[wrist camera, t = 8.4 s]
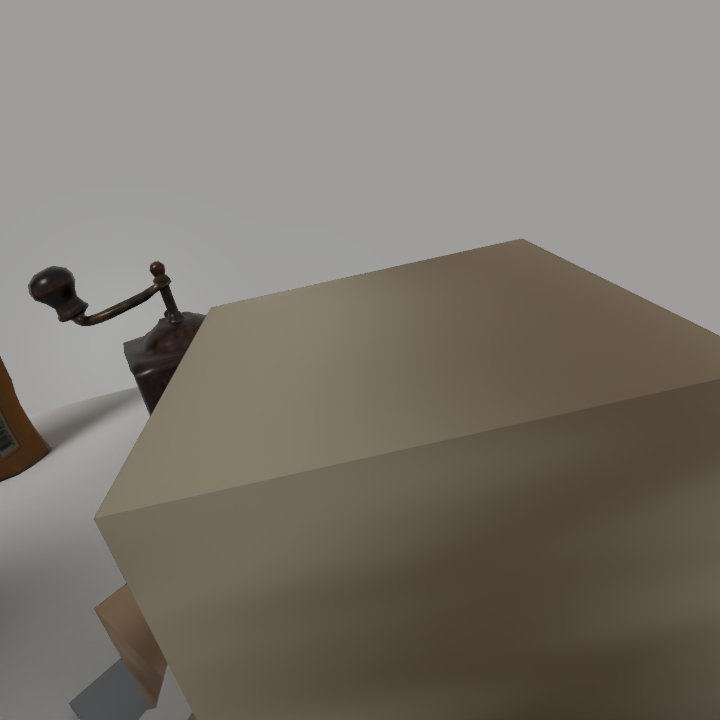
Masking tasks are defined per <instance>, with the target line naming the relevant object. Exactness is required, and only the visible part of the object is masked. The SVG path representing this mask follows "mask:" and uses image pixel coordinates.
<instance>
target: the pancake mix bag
mask: <svg viewBox="0 0 720 720" xmlns="http://www.w3.org/2000/svg"><path fill="white" fill-rule="evenodd" d="M50 449H51V447H50V446H49V445H48V443H47V442H46V441H45V440H44V439H43V438H42V437H41V436H40V434H39V433H38V432H37V430H36V429H35V428H34V426H33V425H32V423H31V422H30V420H29V418H28V417H27V416H26V414H25V412H24V410H23V409H22V407H21V405H20V403H19V400H18V398H17V396H16V394H15V391H14V387H13V383H12V380H11V378H10V376H9V374H8V372H7V370H6V368H5V366H4V363H3V361H2V359H1V357H0V481H1V480H4V479H6V478H9V477H12V476H15V475H17V474H19V473H21V472H22V471H24V470H26V469H27V468H29V467H30V466H32V465H33V464H34V463H36V462H37V461H38V460H39V459H41V458H42V457H43V456H44V455H45V454H46V453H47V452H48V451H49V450H50Z"/></svg>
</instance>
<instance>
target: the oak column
mask: <svg viewBox="0 0 720 720" xmlns="http://www.w3.org/2000/svg"><path fill="white" fill-rule="evenodd" d="M94 520H95V522H96V524H97V526H98V528H99V530H100V532H101V534H102V536H103V538H104V540H105V541H106V543H107V545H108V547H109V549H110V551H111V553H112V555H113V557H114V559H115V561H116V563H117V565H118V567H119V569H120V571H121V573H122V575H123V577H124V579H125V581H126V583H127V585H128V587H129V588H130V590H131V592H132V594H133V596H134V598H135V600H136V602H137V604H138V606H139V608H140V610H141V612H142V614H143V616H144V618H145V620H146V622H147V624H148V626H149V628H150V630H151V632H152V634H153V635H154V637H155V639H156V641H157V643H158V645H159V647H160V649H161V651H162V653H163V655H164V657H165V659H166V661H167V663H168V665H169V667H170V669H171V671H172V673H173V675H174V677H175V679H176V681H177V682H178V684H179V686H180V688H181V690H182V692H183V694H184V696H185V698H186V700H187V702H188V704H189V706H190V708H191V710H192V712H193V714H194V716H195V718H196V720H720V336H719V335H717V334H715V333H713V332H711V331H709V330H707V329H705V328H703V327H701V326H698V325H697V324H695V323H693V322H691V321H689V320H686V319H685V318H683V317H680V316H678V315H676V314H674V313H672V312H670V311H668V310H666V309H664V308H662V307H660V306H658V305H656V304H654V303H652V302H650V301H648V300H646V299H644V298H642V297H640V296H638V295H635V294H634V293H632V292H630V291H627V290H626V289H624V288H622V287H620V286H618V285H616V284H613V283H611V282H609V281H607V280H605V279H603V278H601V277H599V276H597V275H595V274H593V273H591V272H589V271H587V270H585V269H583V268H581V267H579V266H577V265H575V264H573V263H571V262H569V261H567V260H565V259H563V258H561V257H559V256H557V255H555V254H553V253H550V252H548V251H546V250H544V249H542V248H540V247H538V246H536V245H534V244H532V243H530V242H528V241H526V240H524V239H518V240H513V241H509V242H505V243H500V244H495V245H491V246H486V247H481V248H477V249H473V250H468V251H463V252H459V253H455V254H450V255H446V256H441V257H436V258H432V259H428V260H423V261H418V262H414V263H409V264H405V265H400V266H396V267H392V268H387V269H383V270H378V271H373V272H369V273H365V274H360V275H355V276H351V277H346V278H342V279H337V280H333V281H329V282H324V283H320V284H315V285H310V286H306V287H301V288H297V289H293V290H288V291H283V292H279V293H274V294H270V295H265V296H261V297H256V298H252V299H247V300H243V301H238V302H234V303H230V304H225V305H220V306H216V307H211V308H210V310H209V312H208V314H207V315H206V317H205V319H204V321H203V323H202V324H201V326H200V328H199V330H198V332H197V333H196V335H195V337H194V339H193V341H192V342H191V344H190V346H189V348H188V350H187V351H186V353H185V355H184V357H183V359H182V360H181V362H180V364H179V366H178V368H177V369H176V371H175V373H174V375H173V377H172V378H171V380H170V382H169V384H168V386H167V387H166V389H165V391H164V393H163V395H162V396H161V398H160V400H159V402H158V404H157V405H156V407H155V409H154V411H153V413H152V414H151V416H150V418H149V420H148V422H147V423H146V425H145V427H144V429H143V431H142V432H141V434H140V436H139V438H138V440H137V441H136V443H135V445H134V447H133V449H132V450H131V452H130V454H129V456H128V458H127V459H126V461H125V463H124V465H123V467H122V468H121V470H120V472H119V474H118V476H117V477H116V479H115V481H114V483H113V485H112V486H111V488H110V490H109V492H108V494H107V495H106V497H105V499H104V501H103V503H102V504H101V506H100V508H99V510H98V512H97V513H96V515H95V517H94Z"/></svg>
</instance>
